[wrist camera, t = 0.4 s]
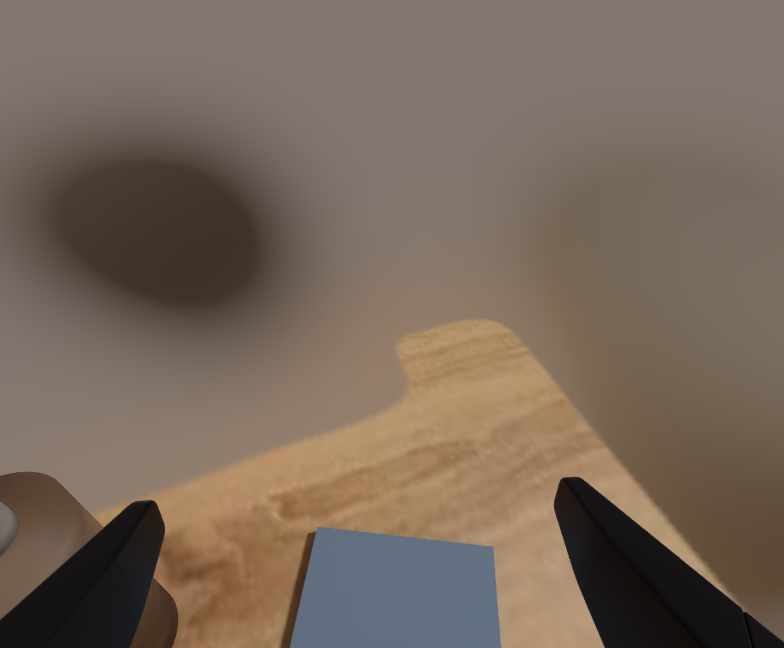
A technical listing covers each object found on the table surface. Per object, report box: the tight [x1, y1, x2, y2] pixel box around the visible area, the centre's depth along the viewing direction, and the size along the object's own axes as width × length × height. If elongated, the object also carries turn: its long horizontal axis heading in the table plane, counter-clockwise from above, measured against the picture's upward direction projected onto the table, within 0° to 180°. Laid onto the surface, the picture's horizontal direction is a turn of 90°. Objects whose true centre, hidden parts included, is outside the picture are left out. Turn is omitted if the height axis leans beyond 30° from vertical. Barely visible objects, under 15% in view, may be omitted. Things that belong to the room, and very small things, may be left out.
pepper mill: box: [0, 472, 178, 648], centre depth 16 cm, size 5×5×13 cm
